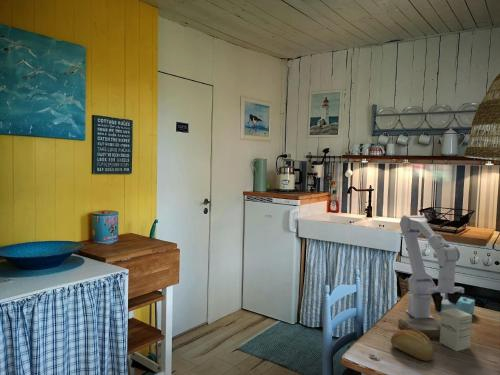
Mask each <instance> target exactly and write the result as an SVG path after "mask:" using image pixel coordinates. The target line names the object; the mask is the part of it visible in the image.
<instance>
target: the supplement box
mask: <svg viewBox="0 0 500 375" xmlns="http://www.w3.org/2000/svg"><path fill="white" fill-rule="evenodd" d="M440 317H441V318H440V319H441V320H440V323H441V329H440V338H439V343H440V344H442V345H443V346H446V347H448V348H450V349H451V350H453V351H455V352H459V351H463V350H466V349H470V348H471V345H470V344H471V337H472V336H471V334H472V322H473V314H468V313H466V312H463V311H461V310H459V309H456V308H451V309H446V310H442V316H440Z"/></svg>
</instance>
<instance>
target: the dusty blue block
mask: <svg viewBox="0 0 500 375" xmlns="http://www.w3.org/2000/svg"><path fill="white" fill-rule="evenodd" d="M451 308H455V304H454V303H452V302H450V301H449V300H448V299H443V300H442V303H441V311H440V312H438V311H436V310H435V309H434V314H435V313H436V314H437V315H438V316H440V317H441V316H442V310H446V309H451Z"/></svg>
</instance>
